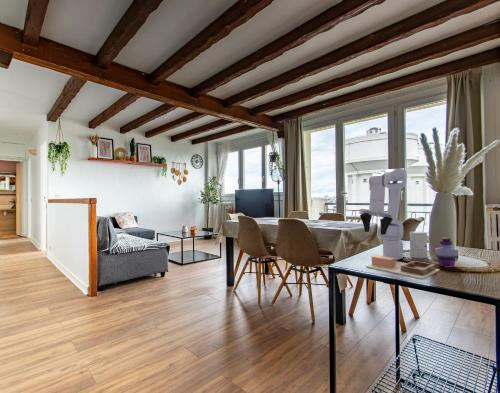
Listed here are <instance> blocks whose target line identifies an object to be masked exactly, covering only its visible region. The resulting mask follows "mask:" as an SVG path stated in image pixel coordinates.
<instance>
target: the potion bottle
mask: <svg viewBox="0 0 500 393" xmlns="http://www.w3.org/2000/svg"><path fill="white" fill-rule="evenodd" d="M439 242H440V245H442V246H440V247H435V248H434V251H435V252H434V253H435V256H436V258H437V261H438V266H439V265H443V266H454V267H455V264H456V262H458V260H459V249H455V248H454V247H453V248H452V247H451V246H453V241H452V239H451V237H446V236H445V237H441V239H440V241H439Z"/></svg>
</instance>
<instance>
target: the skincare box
mask: <svg viewBox="0 0 500 393" xmlns="http://www.w3.org/2000/svg"><path fill="white" fill-rule="evenodd" d="M409 256H410V257H411V258H413V257H414V259H427V258H428V233H427V232H426V231H421V230H420V231H409Z"/></svg>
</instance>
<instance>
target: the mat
mask: <svg viewBox="0 0 500 393" xmlns="http://www.w3.org/2000/svg"><path fill="white" fill-rule="evenodd" d="M407 263H408V262H407ZM407 263H406V262H401V261H396V266H395V267H393V268H386V267H381V266H377V265H372V263H370V264H367V265H365V267H366V268H369V269H373V270H378V271H382V272H388V273H390V274H391V273H392V274H396V275H402V276H406V277H411V278H414V279H420V280H423V279H426V278H428V277H430V276H432V275H433V274H435V273H438V272H440V269H439V268H436V269H435V270H433V271H431V272H429V273H427V274H425V275H423V276H422V275H418V274H413V273H408V272H403V271H401V266H402V265H405V264H407Z"/></svg>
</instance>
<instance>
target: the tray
mask: <svg viewBox="0 0 500 393" xmlns="http://www.w3.org/2000/svg"><path fill="white" fill-rule="evenodd" d="M436 265H437V264H436V263H430V262H425V261H418V260H413V261H409V262H407V264H405V265H402V266H401V271H403V272H408V273H413V274H418V275H422V276H423V275H425V274H427V273H429V272H431V271H433V270H435V269H437V268H436V267H437V266H436Z"/></svg>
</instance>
